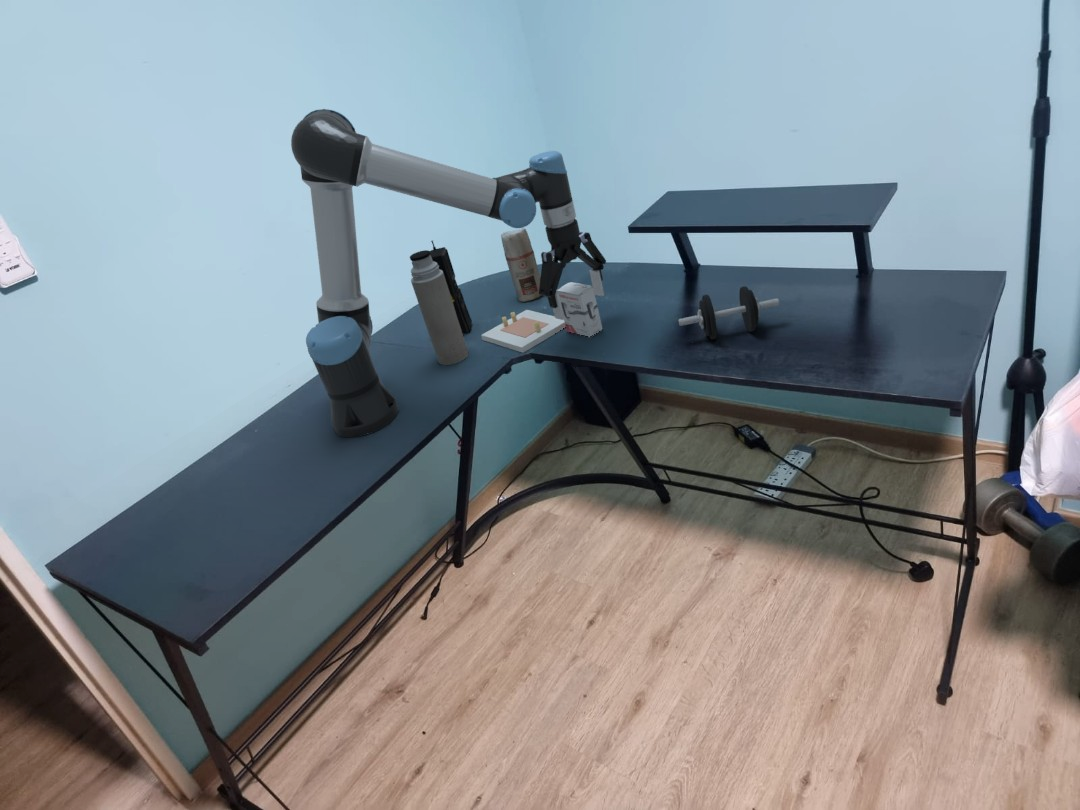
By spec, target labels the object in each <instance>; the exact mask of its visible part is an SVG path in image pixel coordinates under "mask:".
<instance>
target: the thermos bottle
mask: <svg viewBox="0 0 1080 810" xmlns="http://www.w3.org/2000/svg"><path fill="white" fill-rule="evenodd" d="M430 251H431V250H425V249H424V250H420V251H417V252H414V253H412V254H411V255H410V256H409V259H410V261H411V264H412V268H411V269H410V273H411V274H410V275H411V279H410V283H411V285H412V288H413V292H414V295H415V298H416V300H417V302H418V305H419V309H420V312H421V316H422V318H423V321H424V324H425V326H426V329H427V332H428V335H429V338H430V339H429V340H430V341H431V344H432V348H433V350H434V353H435V356H436V358H437V361H438V364H440V365H444V366H447V365H448V366H449V365H454V364H457V363H460V362H462V361H464V360H465V359H466V358H468V356H469V351H468V346H467V344H466V341H465V338H464V334H462V331H461V327H460V324H459V321H458V318H457V315H456V312H455V308H454V305H453V302H452V299H451V296H450V292H449V289H448V286H447V283H446V280H445V276H444V273H443V271H442V270H440V269H439V265H438V264H437V262H434V261H433V260H432V257H431V256H430Z"/></svg>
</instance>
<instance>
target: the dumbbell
mask: <svg viewBox="0 0 1080 810" xmlns="http://www.w3.org/2000/svg"><path fill="white" fill-rule="evenodd" d="M738 297H739V306H736V307H732V308H726V309H722V310H718V311H717V310H716V311H715V310H714V306H713V303H712V299H711V298H710V296H709V294H703V295H702V296H701V300H699V302H698V303H699V308H698V309H697V315H691V316H688V317H683V318H679V319H678V320H677V321H678V325H679V326H682V327H683V326H686V325H692V324H696V323H698V324H699V326H700V328H701V330H703V332H704V334H705V336H706V337H709V339H710V340H716V339H717V337H718V336H717V335H718V329H717V328H718V327H717V321H716V319H717V318H719V319H720V318H723V317H728V316H733V315H738V314H741V317H742V319H743V322H744V323H743V324H744V326H745V328H746V330H747V331H748V332H751V333H752V332H754V331H755V330H756V327H757V326H758V325H759V318H760V317H761V316H760V310H765V309H769V308H772V307H779V305H780V301H779V298H772V299H767V300H762V301H759V300H758V298H757V297H755V294H754V292H753V290H752V289H749V287H748V286H746V285H745V286H744V285H743V286H742V287H740V288H739V296H738ZM758 301H759V302H758Z"/></svg>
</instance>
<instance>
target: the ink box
mask: <svg viewBox="0 0 1080 810" xmlns="http://www.w3.org/2000/svg"><path fill="white" fill-rule="evenodd" d="M556 293H558V294H559V296H560V301H561V305H562V309H563V313H564V317H565V319H564V322H565V326H566V328H565V329H566V333H569V332H571V333H570V334H573V333H576V334H575V335H577V334H580V335H579V336H581V335H585V336H588V337H587V338H591V337H590V336H592V335H593V336H595V335H597V334H598V333H600V332H602V329H603V326H602V325H603V324H602V321H601V316H600V311H599V306H598V303H597V298H596V295H595V293H594V289H593V285H592V284H591V285H589V284H583V283H578V282H573V281H571V282H567V283H565V284H564V285H562V286H560V287H559V288H557V291H556ZM599 331H600V332H599ZM596 333H597V334H596ZM594 334H595V335H594ZM585 336H584V337H585ZM593 336H592V337H593Z"/></svg>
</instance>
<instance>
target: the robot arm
mask: <svg viewBox="0 0 1080 810" xmlns="http://www.w3.org/2000/svg"><path fill="white" fill-rule="evenodd" d="M290 139H291V140H290V142H291V143H290V145H291V151H292V154H293V157H294V159H295V160H296V162H297V163H298V165H299V167H300V173H301V181H303V183H305V184H306V185H307V186H308V187H309V188H310V196H311V205H312V213H313V222H314V224H313V225H314V230H315V231H314V232H315V240H316V241H315V242H316V251H317V256H318V257H317V258H318V267H319V276H320V284H321V287H320V288H321V296H320V297H319V298H318V299H317V301H316V303H315V305H316V311H317V321H318V323H316V324H315V326H314V327H311V328H310V330H308V333H307V334H306V337H305V343H306V347H307V352H308V354H309V356H310V358H311V359H312V362H313V365H314V366H315V368H316V371H317V373H318V376H319V378H320V379H321V382H322V384H323V387H324V390H325V391H326V393H327V396H328V398H329V403H330V418H331V425H332V427H333V429H334V432H335V434H337V436H340V437H344V438H355V437H356V436H357V437H361V436H360V435H362V436H365V435H364V434H366V435H368V434H367V433H369V434H372V433H374V432H376V431H379V430H380V429H382V428H384V427H385V426H387V425H389V424H390V423H392V421H394V419H396V417H397V415H398V413H399V412H400V407H399V405H398V402H397V400H396V397H395V396H394V395H393V394H392V393H391V392H390V390H389V389H388V388H387V386H385V384H383V382H382V381H381V379H380V377H379V374H378V372H377V369H376V368H375V364H374V361H373V359H372V356H371V353H370V350H371V349H370V348H371V339H372V334H373V327H374V326H373V320H372V318H371V314H370V301H369V299H368V297H366V295H364V294H363V293H362V286H361V277H360V267H359V253H358V240H357V230H356V218H355V216H356V215H355V205H354V204H355V203H354V194H353V187H360V186H361V185H363V184H367V185H370V186H373V187H376V188H377V187H378V188H381V189H385V190H387V191H392V192H396V193H400V194H403V195H406V196H411V197H414V198H418V199H421V200H426V201H430V202H433V203H437V204H441V205H444V206H446V207H447V206H448V207H451V208H455V209H459V210H463V211H466V212H469V213H472V214H477V215H482V216H485V217H489V218H491V219H495V220H497V221H501V222H503V223H504V224H505V225H507V226H508V227H511V228H514V229H522V228H526V227H528V226H529V225H530V224H531V223H532V222H533V221H534V219H535V218H536V217H535V216H536V215H537V204H536V203H539V208H540V213H541V216H542V221H543V225H544V226H545V233H546V237H547V241H548V242H549V244H550V249H551V250H549V251H542V252H541V254H540V258H541V262H542V263H541V270H540V287H539V294H540V295H542V297H543V296H544V297H547V300H548V304H549V307H550V308H551V309H552V311H553V316H555V318H556V319H561V320H563V319H565V317H564V313H563V309H562V305H561V301H560V296H559V294H558V293H557V290H558V286H559V284H560V281H561V277H562V274H563V270H564V269H565V268H566V267H567V264H570V263H571V262H572V261H573V260H574V261H575V260H576V259H579V260H580V261H581V262H583V263H584V264H585V265H587V266H588V267H590V268H591V269H589V275H590V280H591V286H592V287H593V289H594V293H595V296H599V297H604V296H605V292H604V287H603V280H604V279H603V275H602V270H603V269H604V268H605V267H604V265H605V264H607V259H606V258H605V257H604V255H603V254H602V253H601V251H600V250H599V248H598V247H597V246H596V244H595V243H594V242H593V240H592V237H591V233H590V232H587V231H585V232H584V231H580V228H579V223H578V220H577V219H576V218H577V214H576V210H575V205H574V202H573V201H574V200H573V197H572V192H571V187H570V181H569V177H568V176H569V175H568V171H567V169H566V165H565V161H564V157H563V155H562V153H561V152H560V151H556V150H550V151H545V152H541V153H538V154H536V155H533V156H531V157H530V158H529V160H528V161H529V162H528V163H529V167H527V168H526V169H522V170H519V171H516V172H511V173H508V174H505V175H501V176H498V177H488V176H485V175H481V174H477V173H474V172H471V171H468V170H463V169H461V168H458V167H454V166H450V165H447V164H443V163H440V162H436V161H433V160H430V159H426V158H423V157H419V156H417V155H416V156H415V155H412V154H409V153H405V152H402V151H400V150H399V151H398V150H395V149H392V148H388V147H385V146H382V145H379V144H375V143H373V142H372V141H371V140H370V137H368V136H367V135H364V134H360V133H357V131H356V129H355V127H354V125H353V123H352V122H351V121H350V120H349V119H348V118H347V117H346V116H345V115H343V114H342V113H340V112H339V111H336V110H333V109H329V108H328V109H326V108H323V109H315V110H312V111H310V112H308V113H307V114H306V115H305V116H303V118H302V120H300V121H299V122H298V123H297V124H296V126H295V128H294V129H293V131H292V135H291V138H290ZM581 245H583V246H584V248H585V249H586V251H585V250H584V249H582V248H581ZM587 252H588V253H589V254H588V253H587ZM371 432H372V433H371Z"/></svg>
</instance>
